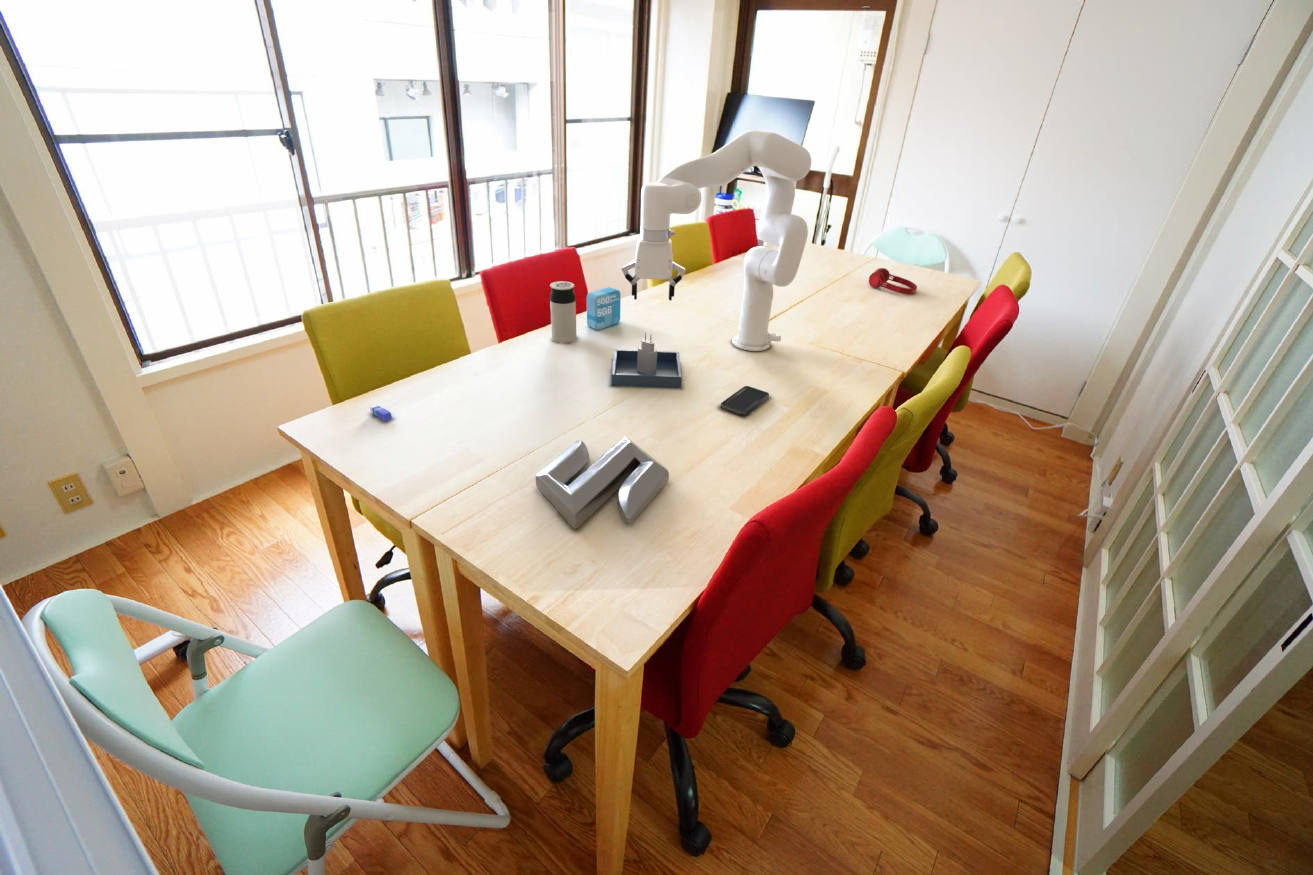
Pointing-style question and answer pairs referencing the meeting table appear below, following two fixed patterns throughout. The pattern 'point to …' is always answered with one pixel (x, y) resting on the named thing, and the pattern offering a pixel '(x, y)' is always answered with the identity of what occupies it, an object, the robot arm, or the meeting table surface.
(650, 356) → the power adapter
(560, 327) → the travel mug
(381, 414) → the eraser
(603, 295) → the data package
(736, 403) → the phone
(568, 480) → the emblem
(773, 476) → the meeting table surface
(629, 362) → the tray
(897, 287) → the headphones
